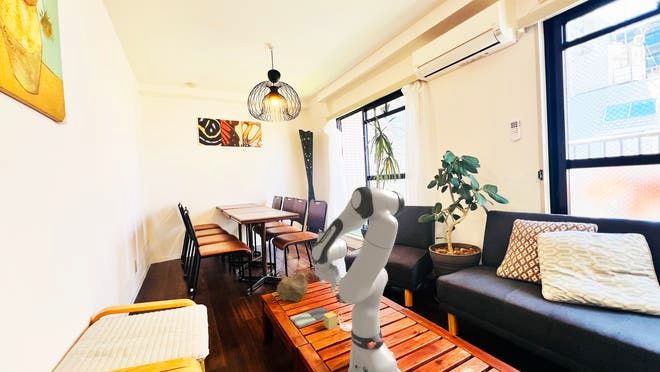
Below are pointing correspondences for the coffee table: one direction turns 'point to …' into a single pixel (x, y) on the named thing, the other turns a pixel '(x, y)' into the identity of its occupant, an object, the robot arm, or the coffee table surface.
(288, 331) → the coffee table surface
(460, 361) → the coffee table surface
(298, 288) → the rough brown rock
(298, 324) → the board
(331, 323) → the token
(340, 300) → the dark grey rock
